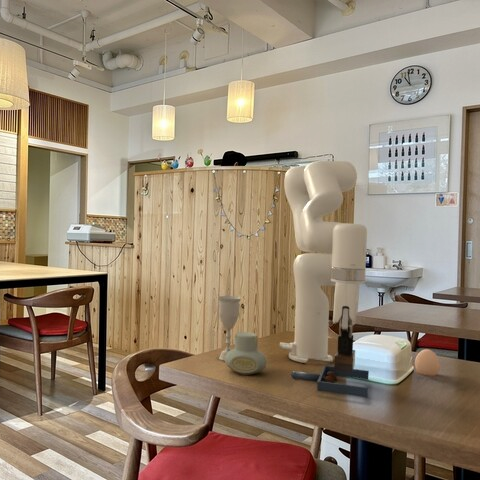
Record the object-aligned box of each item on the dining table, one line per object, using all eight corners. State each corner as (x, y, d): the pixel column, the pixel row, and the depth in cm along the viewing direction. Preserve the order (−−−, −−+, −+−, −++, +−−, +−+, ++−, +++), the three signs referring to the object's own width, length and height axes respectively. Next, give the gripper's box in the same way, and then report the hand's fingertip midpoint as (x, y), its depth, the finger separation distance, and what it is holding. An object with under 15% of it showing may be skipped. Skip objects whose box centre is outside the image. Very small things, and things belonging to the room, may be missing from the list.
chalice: (234, 363, 137) (236, 299, 137) (211, 359, 140) (213, 297, 140) (242, 358, 143) (244, 297, 143) (221, 354, 147) (223, 295, 147)
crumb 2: (323, 377, 114) (335, 381, 112) (325, 372, 116) (337, 377, 115) (320, 387, 114) (332, 392, 113) (322, 383, 117) (333, 387, 116)
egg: (433, 382, 123) (434, 353, 123) (410, 377, 128) (411, 348, 128) (443, 379, 126) (444, 350, 126) (420, 374, 131) (421, 346, 131)
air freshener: (267, 369, 131) (268, 332, 131) (265, 378, 123) (266, 338, 123) (226, 365, 134) (227, 329, 134) (222, 373, 126) (223, 335, 126)
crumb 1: (337, 376, 117) (331, 386, 117) (340, 375, 119) (334, 384, 120) (327, 369, 118) (321, 379, 119) (330, 368, 121) (324, 377, 121)
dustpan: (368, 384, 120) (368, 370, 120) (367, 403, 105) (367, 388, 105) (295, 374, 127) (296, 361, 127) (285, 391, 112) (286, 376, 112)
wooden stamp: (334, 370, 113) (335, 334, 112) (337, 362, 120) (338, 327, 120) (352, 372, 111) (353, 336, 111) (354, 364, 118) (356, 329, 118)
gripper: (333, 272, 124) (331, 343, 124) (328, 277, 109) (325, 358, 109) (365, 274, 121) (362, 347, 121) (364, 279, 106) (361, 363, 106)
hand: (345, 351), depth 115 cm, fingers closed on wooden stamp, 2 cm apart
